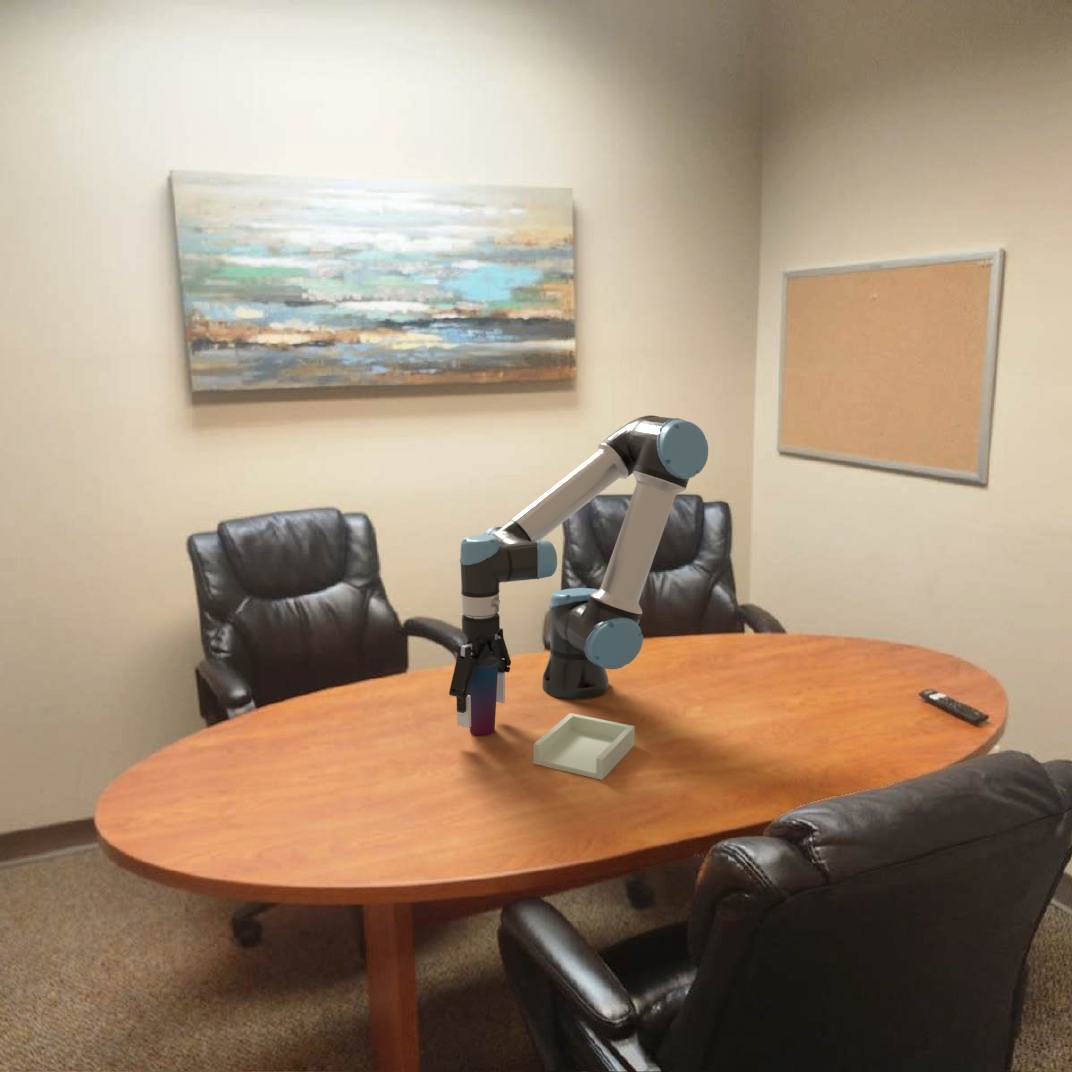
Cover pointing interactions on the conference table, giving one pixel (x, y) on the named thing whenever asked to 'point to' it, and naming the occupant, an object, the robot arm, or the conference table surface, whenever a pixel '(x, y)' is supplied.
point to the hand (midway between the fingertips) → (482, 713)
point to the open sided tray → (584, 745)
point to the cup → (484, 697)
